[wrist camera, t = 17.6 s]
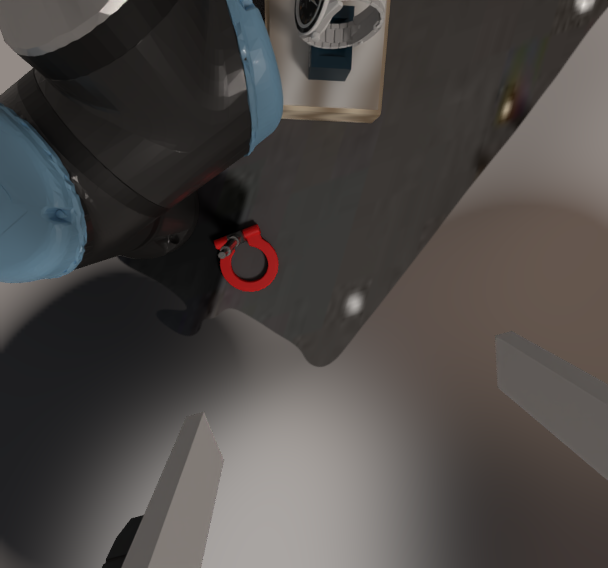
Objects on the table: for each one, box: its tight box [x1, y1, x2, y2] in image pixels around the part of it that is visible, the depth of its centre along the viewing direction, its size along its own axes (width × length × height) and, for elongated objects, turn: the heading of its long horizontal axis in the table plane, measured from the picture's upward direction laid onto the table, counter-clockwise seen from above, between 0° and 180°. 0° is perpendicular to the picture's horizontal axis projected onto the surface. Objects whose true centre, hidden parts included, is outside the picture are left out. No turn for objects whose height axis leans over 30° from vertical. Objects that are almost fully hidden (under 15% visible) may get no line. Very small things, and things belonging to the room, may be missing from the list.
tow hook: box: [214, 224, 278, 292], centre depth 36 cm, size 8×13×9 cm
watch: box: [294, 0, 386, 81], centre depth 27 cm, size 6×8×11 cm
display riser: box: [265, 0, 390, 123], centre depth 34 cm, size 14×12×4 cm
